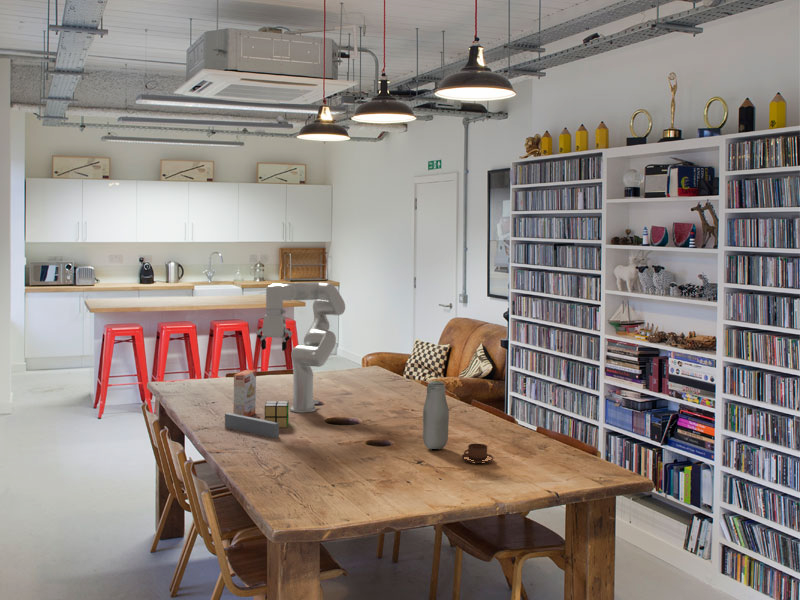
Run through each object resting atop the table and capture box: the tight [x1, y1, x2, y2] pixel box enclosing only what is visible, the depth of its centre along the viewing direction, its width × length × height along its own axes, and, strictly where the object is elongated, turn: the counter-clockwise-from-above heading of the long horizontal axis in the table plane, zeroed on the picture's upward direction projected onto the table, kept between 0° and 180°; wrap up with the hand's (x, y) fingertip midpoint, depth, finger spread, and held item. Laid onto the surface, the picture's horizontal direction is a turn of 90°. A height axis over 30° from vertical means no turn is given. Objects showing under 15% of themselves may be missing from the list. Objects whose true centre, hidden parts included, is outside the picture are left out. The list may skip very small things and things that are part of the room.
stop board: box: [224, 412, 280, 439], centre depth 356 cm, size 2×30×6 cm, turn 55°
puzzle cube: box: [264, 400, 290, 429], centre depth 369 cm, size 10×10×10 cm
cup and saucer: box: [461, 443, 494, 464], centre depth 318 cm, size 12×12×6 cm
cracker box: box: [232, 369, 257, 417], centre depth 384 cm, size 14×6×21 cm, turn 168°
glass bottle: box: [422, 380, 450, 450], centre depth 333 cm, size 10×10×28 cm
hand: (273, 349), depth 376 cm, fingers open, 9 cm apart
